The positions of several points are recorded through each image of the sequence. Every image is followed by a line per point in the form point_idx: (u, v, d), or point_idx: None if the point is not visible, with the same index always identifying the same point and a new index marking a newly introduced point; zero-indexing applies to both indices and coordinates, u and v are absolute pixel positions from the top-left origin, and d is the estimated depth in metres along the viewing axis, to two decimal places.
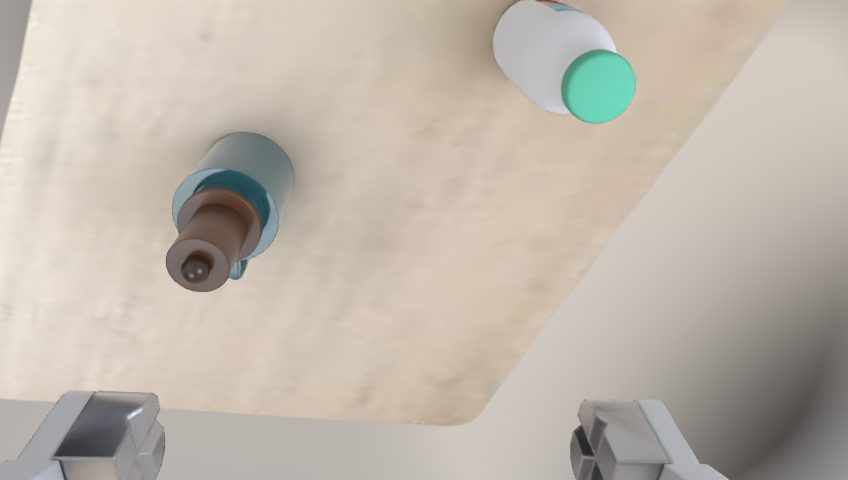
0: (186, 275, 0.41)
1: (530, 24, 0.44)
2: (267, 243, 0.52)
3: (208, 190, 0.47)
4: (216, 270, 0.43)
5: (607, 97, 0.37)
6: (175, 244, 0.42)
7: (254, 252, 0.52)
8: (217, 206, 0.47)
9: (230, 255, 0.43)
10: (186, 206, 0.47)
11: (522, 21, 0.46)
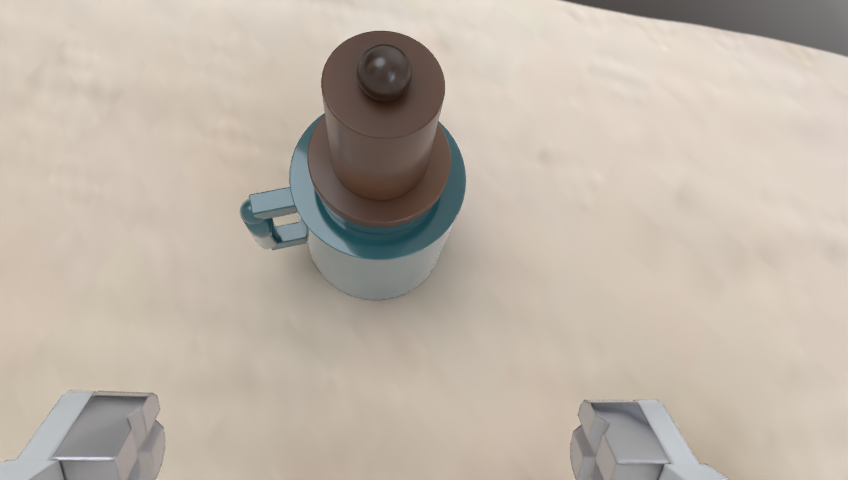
0: (385, 49, 0.20)
1: None
2: (345, 248, 0.28)
3: None
4: (383, 115, 0.21)
5: None
6: (420, 43, 0.22)
7: (320, 229, 0.28)
8: None
9: (411, 143, 0.22)
10: None
11: None
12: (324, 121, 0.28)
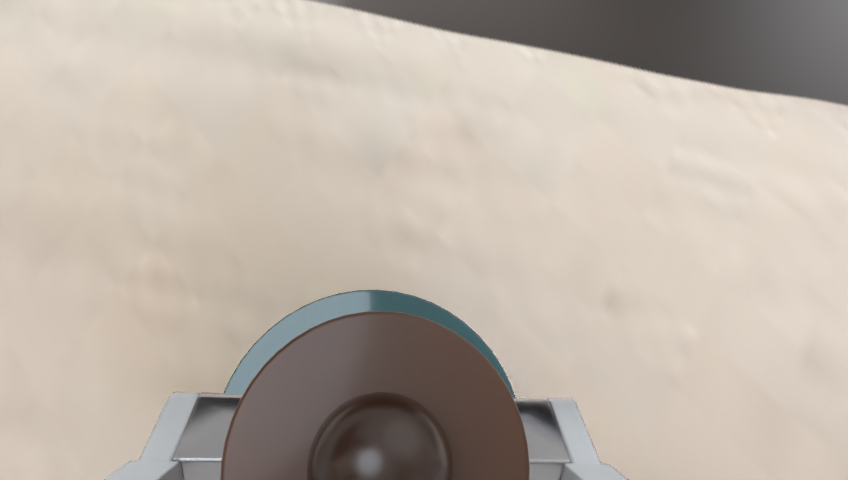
0: (381, 441, 0.07)
1: None
2: None
3: None
4: None
5: None
6: (466, 343, 0.09)
7: None
8: None
9: None
10: None
11: None
12: None
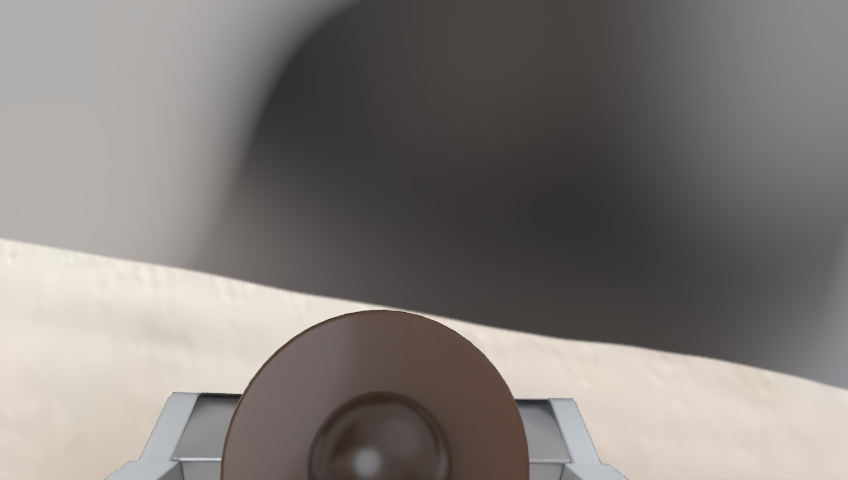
0: (381, 442, 0.07)
1: None
2: None
3: None
4: None
5: None
6: (466, 342, 0.09)
7: None
8: None
9: None
10: None
11: None
12: None
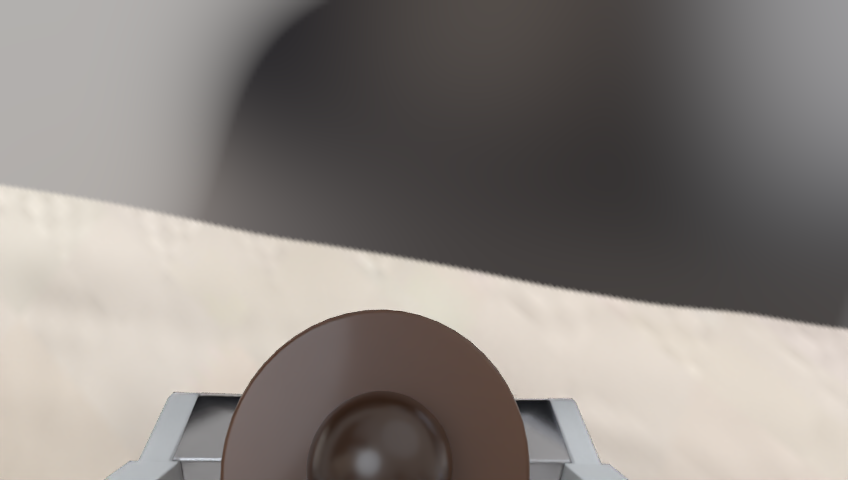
0: (382, 441, 0.07)
1: None
2: None
3: None
4: None
5: None
6: (466, 342, 0.09)
7: None
8: None
9: None
10: None
11: None
12: None
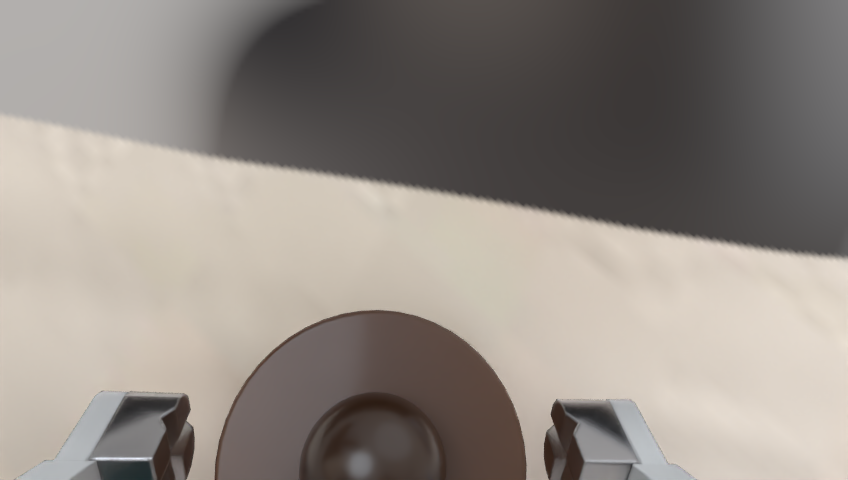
0: (373, 443, 0.07)
1: None
2: None
3: None
4: None
5: None
6: (462, 343, 0.09)
7: None
8: None
9: None
10: None
11: None
12: None
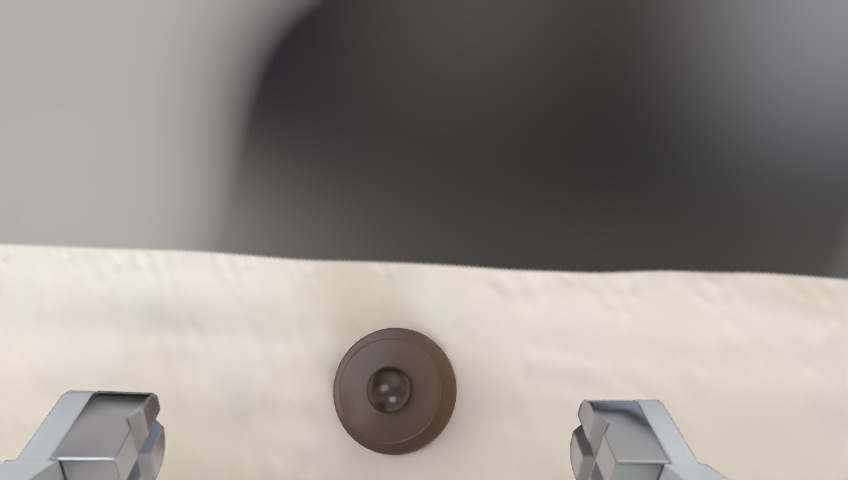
0: (387, 381, 0.25)
1: None
2: None
3: (447, 358, 0.33)
4: (392, 421, 0.26)
5: None
6: (415, 346, 0.26)
7: None
8: None
9: None
10: (413, 335, 0.33)
11: None
12: (344, 364, 0.32)
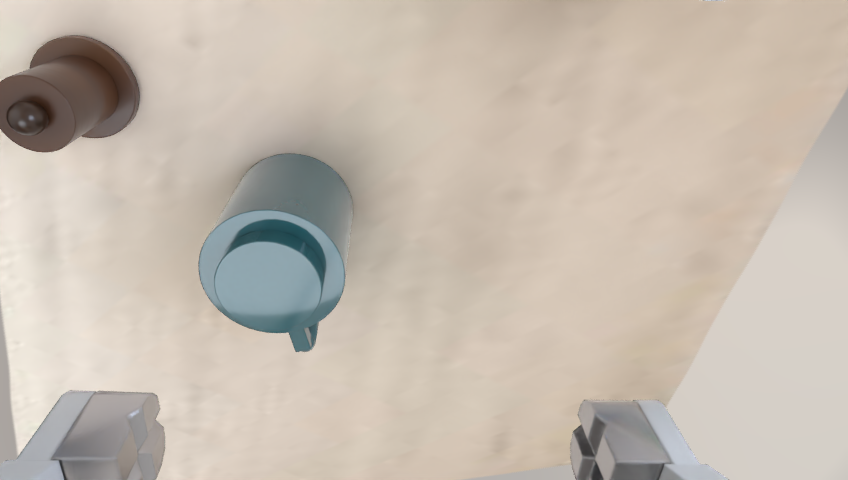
0: (11, 122, 0.32)
1: None
2: (336, 297, 0.37)
3: None
4: (58, 116, 0.34)
5: None
6: None
7: (322, 312, 0.38)
8: (66, 56, 0.38)
9: (72, 95, 0.34)
10: (34, 67, 0.38)
11: None
12: None
